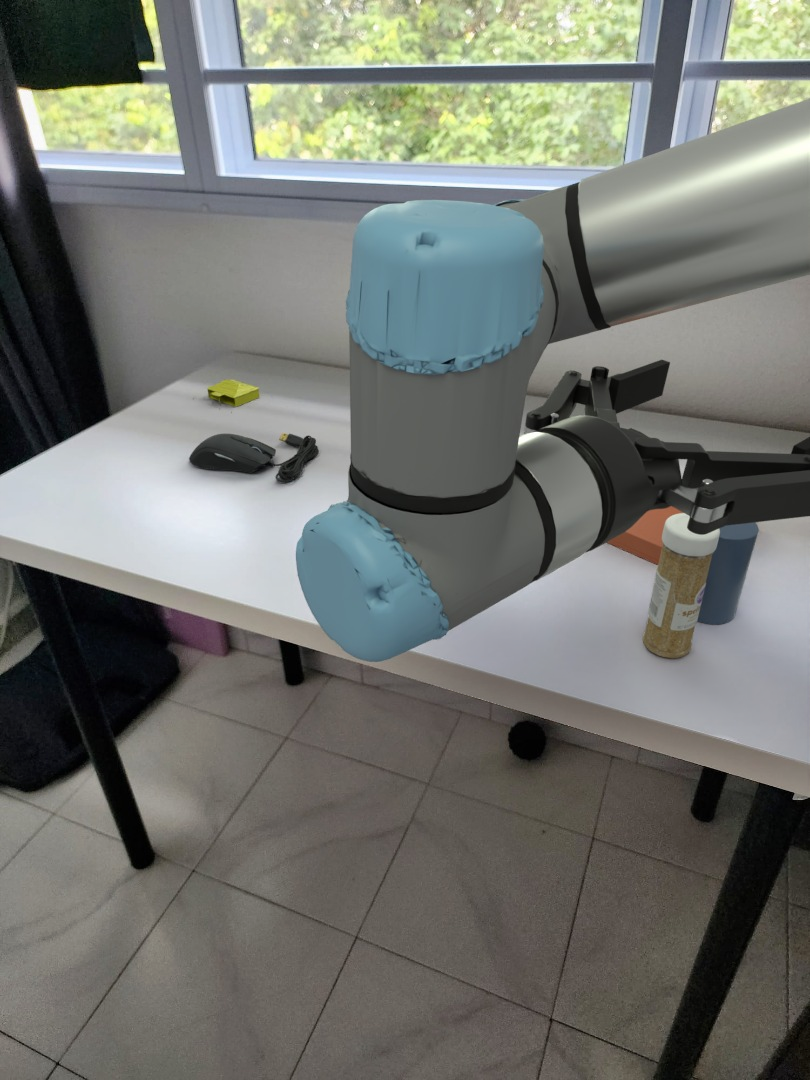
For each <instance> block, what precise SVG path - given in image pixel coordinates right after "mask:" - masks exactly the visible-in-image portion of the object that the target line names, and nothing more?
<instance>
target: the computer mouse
mask: <svg viewBox="0 0 810 1080" xmlns="http://www.w3.org/2000/svg"><path fill="white" fill-rule="evenodd" d="M278 440H279V441H281V442H284V443H285V444H286V445H289V446H292V447H294V448H297V451H296V454H293V456H292V457H291V458H289V459H287V460H285V461H283V462H281V463H274V462H273V461H271V460H272V459H274V457H275V456H276V452H277V449H276V448H274V447H272V446H270V445H268V444H266V443H264V442H261V441H259V440H257V439H254V438H251V437H247V436H243V435H240V434H234V433H217V434H214V435H211V436H209V437H207V438H206V439H204V440H203V441H201V442H200V443H199V444H198V445H197V446H196V447H195V448H194V449H193V451H192V452H191V454H190V455H189V457H188V460H189V462H190V463H191V464H192V465H193V466H194V467H196V468H200V469H204V470H205V469H206V470H212V471H236V472H243V473H249V474H251V473H254V472H257V471H258V470H260V469H262V468H263V467H271V468H274V467H279V468H278V472H277V473H276V474H275V480H276V481H279V482H281V483H288V482H291V481H293V480H294V479H295V478H296V477H299V476H300V474H301V473H302V471H303V468H304V467H303V466H304V465H306V464H307V461H309V460H311V459H313V458H314V457H316V456H317V455H318V454H319V451H320V450H319V446H318V445H317V444H316V443H317V440H316V438H315V437H312V436H311V435H310V434H309V435H306V436H304V437H301V436H299V435H295V434H293V433H286V432H281V435H280V437H279V439H278Z"/></svg>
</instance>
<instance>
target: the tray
mask: <svg viewBox="0 0 810 1080" xmlns="http://www.w3.org/2000/svg"><path fill="white" fill-rule="evenodd" d="M680 513H683V512H681V511H680V510H678V509H676V508H674V507H672V506H670V507H668V508H664V509H654V510H649V511H647V512H646V513H645V514H644V515H643V516H642V517H641V518H640V519H639V520H638V521H637V522H636V523H635V524H634V525H633V526H632V527H631V528H630V529H628V530H627V531H625V532H624V533H622V534H620V535H619V536H617V537H615V538H613V539H611V540H610V541H608V542H606V543H607V544H609V545H612V546H613V547H616V548H618V549H621V550H623V551H625V552H626V553H627V552H628V553H629V554H632V555H635V556H636V557H639V558H641V559H644V560H646V561H647V562H650V563H652V564H654V565H657V566H658V564H659V560H660V555H661V550H662V545H663V542H662V534H663V529H664V525H665V522H666V520H667V519H668V518H669V517H670V516H672V515H675V514H680ZM755 523H756V524H757V522H755Z"/></svg>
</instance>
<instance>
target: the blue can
mask: <svg viewBox="0 0 810 1080" xmlns="http://www.w3.org/2000/svg"><path fill="white" fill-rule="evenodd" d="M719 529H720V535H719V540H718V544H717V548H716V550H715V551H714V553H713V554H712V558H711V562H710V566H709V571H708V575H707V579H706V586H705V590H704V594H703V599H702V603H701V607H700V611H699V615H698V620H697V622H699V623H701V624H707V625H722V624H726V623H730V622H731V621H732V620H734V618H735V617H736V613H737V610H738V606H739V603H740V599H741V595H742V593H743V588H744V585H745V580H746V579H747V578H746V577H747V575H748V571H749V566H750V564H751V559H752V556H753V552H754V549H755V545H756V542H757V539H758V536H759V535H758V534H759V530H760V528H759V526H758V523H757V522H756V523H755V522H754V523H745V524H736V525H727V526H724V527H721V528H719Z"/></svg>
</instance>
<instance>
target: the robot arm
mask: <svg viewBox="0 0 810 1080" xmlns="http://www.w3.org/2000/svg"><path fill="white" fill-rule="evenodd" d="M350 264H351V265H350V279H349V289H348V292H347V296H346V300H345V309H346V311H345V319H346V324H347V325H348V333H349V334H348V335H349V336H348V343H349V344H348V345H349V347H348V348H349V399H350V400H349V407H350V408H349V410H350V412H349V413H350V419H349V420H350V456H349V458H350V464H349V468H348V472H347V473H348V474H347V481H348V482H347V483H348V486H347V487H348V496H347V500H346V501H342V502H338V503H335V504H330V505H329V507H328V509H327V510H325V511H323V512H321V513H319V514H316V515H314V516H313V517H311V518H310V519H309V520H308V521H307V522H306V523H305V525H304V527H303V528H302V531H301V536H300V538H299V539H298V540H297V543H296V548H295V565H296V573H297V577H298V581H299V585H300V589H301V591H302V594H303V597H304V600H305V602H306V604H307V607H308V608H309V611H310V612H311V614H312V616H313V617H314V619H315V621H316V622H317V624H318V625H319V626H320V628H321V629H322V631H323V632H324V634H325V635H326V636H327V637H328V638H329V639H330V640H332V641H333V642H335V643H336V644H337V646H339V647H340V648H341V649H342V650H343V651H344V652H345V653H346V654H348V655H349V656H351V657H353V658H355V659H358V660H361V661H365V662H370V663H378V662H379V663H380V662H384V661H388V660H391V659H393V658H395V657H397V656H399V655H402V654H404V653H406V652H409V651H410V650H412V649H416V648H417V647H419V646H422V645H423V644H426V643H428V642H431V641H434V640H435V641H438V640H440V639H442V638H443V637H445V636H446V635H447V633H448V632H449V631H451V630H453V629H454V628H456V627H458V626H459V625H462V624H463V623H465V622H467V621H468V620H470V619H472V618H473V617H475V616H478V615H479V614H481V613H482V612H484V611H486V610H488V609H489V608H491V607H493V606H494V605H496V604H498V603H500V602H501V601H504V600H505V599H507V598H509V597H511V596H512V595H513V594H516V593H517V592H520V591H521V590H523V589H525V588H526V587H527V586H530V584H532V583H534V582H537V581H538V580H540V579H542V578H544V577H546V576H548V575H550V574H551V573H553V572H555V571H557V570H558V569H560V568H562V567H563V566H564V567H565V566H566V565H568V564H570V563H571V562H573V561H574V560H576V559H579V558H580V557H581V556H583V555H584V554H585V553H588V552H591V551H593V550H595V549H597V548H599V547H601V546H603V545H604V544H606V543H607V542H608V541H610V540H611V539H613V538H615V537H617V536H619V535H620V534H622V533H624V532H625V531H627V530H628V529H630V528H631V527H632V526H633V525H634V524H635V523H636V522H637V521H638V520H639V519H640V518H641V517H642V516H643V515H644V514H645V513H646V512H647V511H649V510H654V509H664V508H668V507H670V506H672V507H674V508H676V509H678V510H680V511H681V512H683V513H685V514H687V515H689V516H690V518H689V521H688V525H687V528H688V530H689V531H691V532H693V533H695V534H699V535H704V534H708V533H710V532H712V531H715V530H717V529H719V528H721V527H724V526H727V525H736V524H745V523H754V522H756V523H761V522H770V521H777V520H778V521H779V520H780V521H781V520H789V519H797V518H805V517H810V436H808V437H806V438H805V439H802V440H801V441H800V442H798V443H796V444H794V445H793V447H792V449H791V452H790V453H780V452H779V453H775V452H751V451H750V452H749V451H748V452H747V451H745V452H744V451H716V450H715V451H714V450H705V448H704V446H702V445H701V444H700V443H697V442H674V441H673V442H672V441H671V442H669V441H663V440H661V439H659V438H658V437H657V438H656V437H650V436H648V435H646V434H645V433H643V432H641V431H640V430H637V429H635V428H632V427H630V428H626V427H625V428H624V427H621V425H620V422H619V421H618V416H617V414H619V413H622V412H625V411H627V410H630V409H632V408H635V407H637V406H639V405H642V404H645V403H647V402H649V401H653V400H655V399H657V398H660V397H662V396H663V394H664V390H665V386H666V381H667V377H668V374H669V369H670V365H671V362H670V361H668V360H665V359H659V360H657V361H653V362H651V363H648V364H645V365H643V366H640V367H637V368H634V369H630V370H628V371H625V372H622V373H621V372H620V373H616V374H613V375H610V376H609V373H610V369H609V368H608V367H605V366H602V365H600V366H599V365H597V366H596V365H595V366H593V367H592V368H591V373H590V376H589V377H590V378H589V380H587V379H583V378H582V372H580V371H576V370H567V371H565V372H564V374H563V375H562V376H561V378H560V379H559V381H558V382H557V384H556V385H555V387H554V388H553V390H552V391H551V393H550V394H549V395H548V397H547V398H546V399H545V401H544V403H543V404H542V405H541V406H539V407H536V408H535V409H532V410H530V411H529V412H526V416H525V423H524V429H523V433H521V429H522V422H523V415H524V410H525V403H526V397H527V392H528V388H529V384H530V379H531V377H532V375H533V374H534V371H535V369H536V367H537V365H538V364H539V362H540V360H541V357H542V356H543V354H544V352H545V350H546V348H548V347H547V346H548V345H550V344H554V343H558V342H562V341H566V340H569V339H574V338H577V337H580V336H585V335H589V334H592V333H596V332H598V331H603V330H605V329H611V328H612V327H615V326H619V325H622V324H626V323H630V322H635V321H637V320H642V319H646V318H648V317H653V316H657V315H661V314H665V313H668V312H673V311H676V310H680V309H684V308H687V307H691V306H694V305H699V304H702V303H707V302H711V301H715V300H718V299H723V298H726V297H729V296H733V295H738V294H742V293H745V292H748V291H752V290H757V289H761V288H764V287H767V286H772V285H776V284H780V283H784V282H787V281H791V280H794V279H799V278H803V277H806V276H810V98H806V99H804V100H801V101H799V102H796V103H793V104H790V105H788V106H783V107H781V108H779V109H776V110H773V111H770V112H768V113H767V112H766V113H765V114H762V115H759V116H756V117H754V118H751V119H747V120H744V121H742V122H739V123H736V124H734V125H731V126H728V127H725V128H722V129H720V130H719V129H718V130H717V131H714V132H711V133H708V134H706V135H703V136H700V137H697V138H694V139H691V140H688V141H685V142H683V143H680V144H677V145H675V146H672V147H669V148H666V149H664V150H660V151H657V152H655V153H652V154H649V155H646V156H643V157H641V158H638V159H635V160H633V161H630V162H626V163H624V164H621V165H619V166H616V167H613V168H610V169H606V170H604V171H601V172H599V173H596V174H593V175H590V176H587V177H585V178H581V179H580V181H577V182H575V183H572V184H569V185H565V186H562V187H558V188H555V189H551V190H549V191H546V192H544V193H540V194H538V195H535V196H532V197H529V198H526V199H525V198H524V199H515V198H514V199H513V198H511V199H505V200H503V201H500V202H498V203H495V204H488V203H481V202H475V201H474V202H473V201H466V200H465V201H463V200H446V199H445V200H444V199H443V200H442V199H419V200H417V199H415V200H408V201H405V202H404V203H403V202H401V203H400V202H399V203H387V204H383V205H380V206H378V207H375V208H373V209H372V210H370V211H369V212H367V213H366V214H365V215H364V216H363V217H362V218H361V220H360V221H359V222H358V225H357V226H356V228H355V230H354V232H353V238H352V250H351V263H350ZM577 404H579V405H583V406H584V415H583V414H582V415H575V416H571V415H572V414H573V412H574V410H575V409H576V407H577ZM680 460H686V463H685V466H684V469H683V473H681V467H680Z"/></svg>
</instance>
